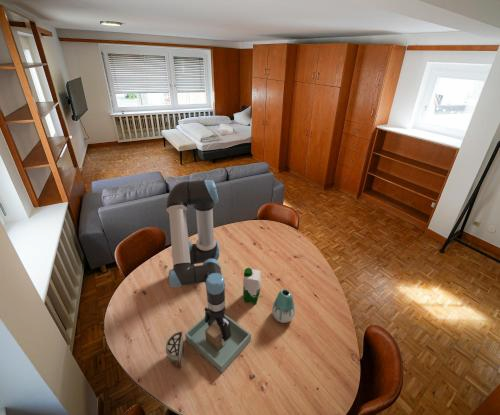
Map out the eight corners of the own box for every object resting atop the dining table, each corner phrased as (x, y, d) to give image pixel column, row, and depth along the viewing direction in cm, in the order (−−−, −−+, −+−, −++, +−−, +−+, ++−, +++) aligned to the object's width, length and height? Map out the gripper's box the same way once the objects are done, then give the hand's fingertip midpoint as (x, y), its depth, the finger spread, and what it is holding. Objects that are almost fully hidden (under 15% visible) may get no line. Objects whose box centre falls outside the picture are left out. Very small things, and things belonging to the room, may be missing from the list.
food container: (170, 344, 123) (167, 331, 118) (184, 343, 124) (181, 330, 119) (165, 372, 113) (162, 358, 108) (180, 371, 113) (177, 357, 108)
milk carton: (245, 290, 153) (245, 264, 143) (260, 293, 151) (262, 266, 142) (241, 302, 145) (242, 275, 136) (258, 305, 144) (259, 278, 134)
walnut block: (219, 328, 130) (219, 317, 126) (230, 336, 126) (230, 325, 122) (206, 341, 124) (205, 330, 120) (216, 350, 120) (216, 339, 116)
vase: (295, 311, 142) (299, 286, 133) (291, 329, 132) (295, 304, 123) (274, 304, 145) (277, 280, 136) (268, 322, 135) (271, 297, 126)
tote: (185, 340, 125) (184, 333, 123) (215, 313, 139) (215, 307, 136) (221, 373, 113) (221, 366, 110) (250, 340, 126) (251, 334, 124)
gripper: (194, 298, 117) (197, 331, 128) (227, 324, 106) (228, 358, 117) (206, 288, 122) (209, 321, 133) (239, 312, 111) (239, 345, 122)
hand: (218, 338), depth 125 cm, fingers closed on walnut block, 7 cm apart
